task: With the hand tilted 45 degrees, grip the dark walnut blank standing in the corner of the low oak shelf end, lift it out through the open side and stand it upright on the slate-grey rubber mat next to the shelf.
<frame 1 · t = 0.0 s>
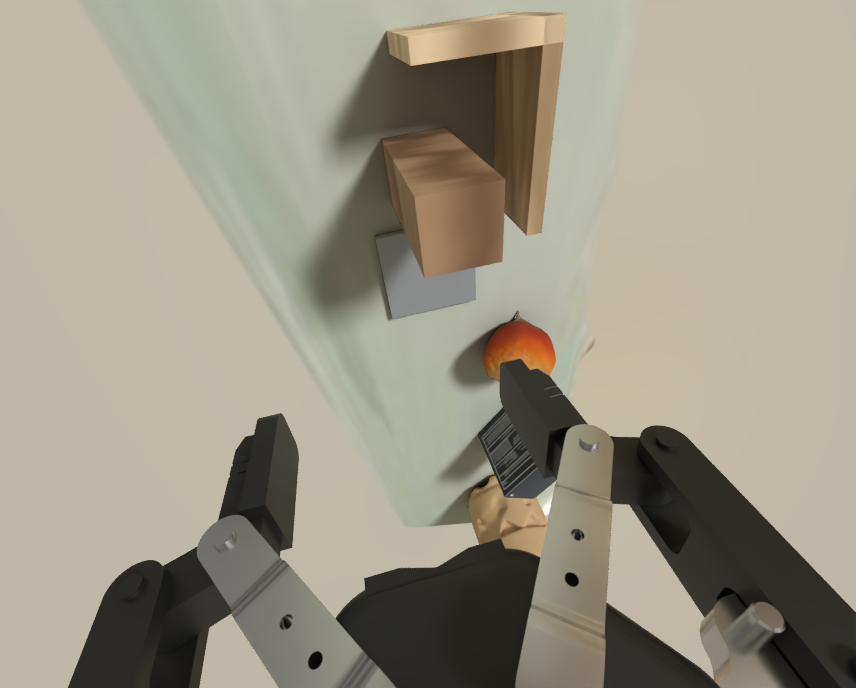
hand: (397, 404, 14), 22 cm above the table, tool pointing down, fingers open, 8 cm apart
fruit: (506, 335, 46), on the table
mat: (429, 269, 37), on the table
small box: (511, 416, 57), on the table
container: (494, 486, 72), on the table
blank: (417, 167, 30), on the table
shelf end: (417, 167, 30), on the table
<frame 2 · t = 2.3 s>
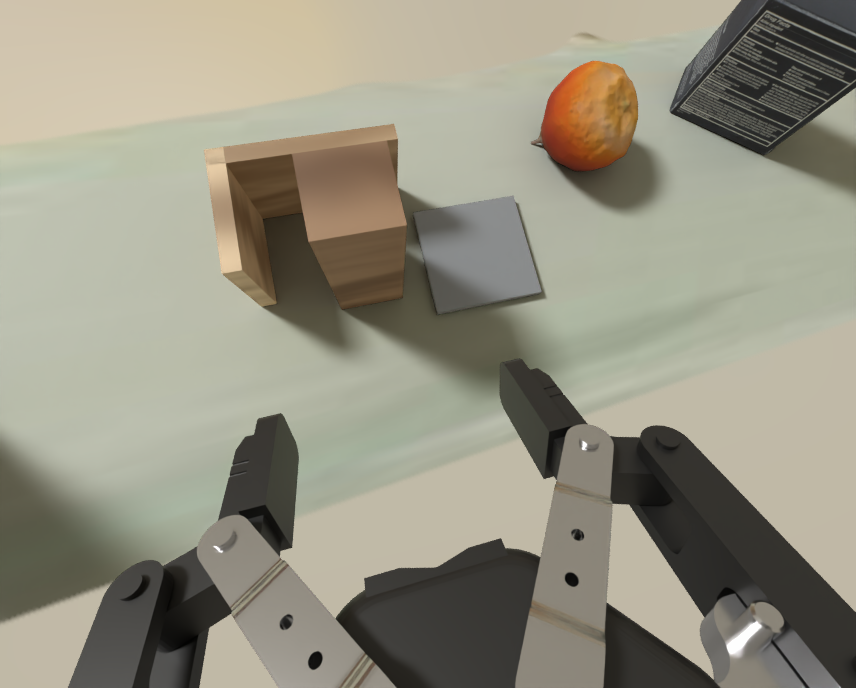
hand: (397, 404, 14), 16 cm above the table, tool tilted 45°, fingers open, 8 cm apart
fruit: (570, 150, 35), on the table
mat: (475, 254, 32), on the table
small box: (722, 112, 38), on the table
blank: (366, 275, 31), on the table
shelf end: (366, 275, 31), on the table
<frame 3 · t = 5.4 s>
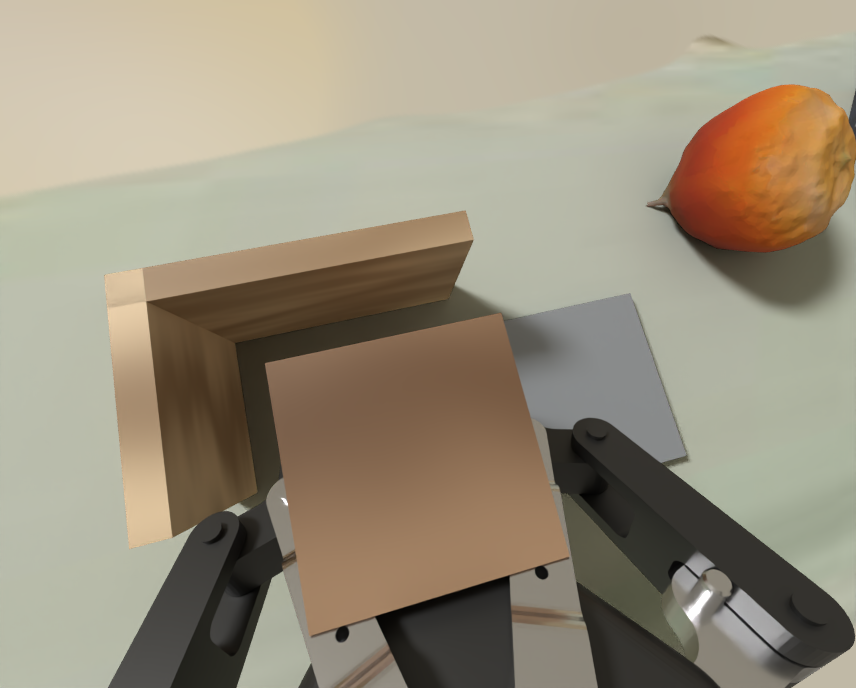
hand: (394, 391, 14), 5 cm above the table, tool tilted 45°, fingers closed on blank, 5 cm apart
fruit: (703, 214, 23), on the table
mat: (575, 391, 20), on the table
blank: (403, 434, 19), on the table, touching gripper
shelf end: (403, 434, 19), on the table
when the fingers open (7 cm above the table, at t = 10.3 s): blank drops 1 cm, resting on mat.
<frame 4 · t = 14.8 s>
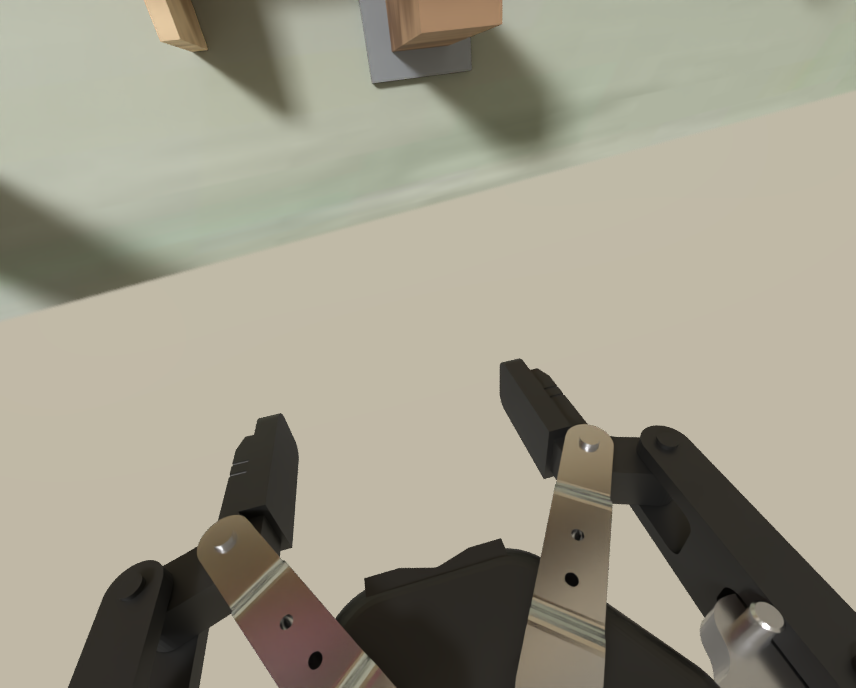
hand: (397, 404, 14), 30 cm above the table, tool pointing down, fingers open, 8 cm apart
mat: (415, 10, 31), on the table
blank: (417, 10, 31), point 1 cm above the table, touching mat
shelf end: (299, 23, 30), on the table
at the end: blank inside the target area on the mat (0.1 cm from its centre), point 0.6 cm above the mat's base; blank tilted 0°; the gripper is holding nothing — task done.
